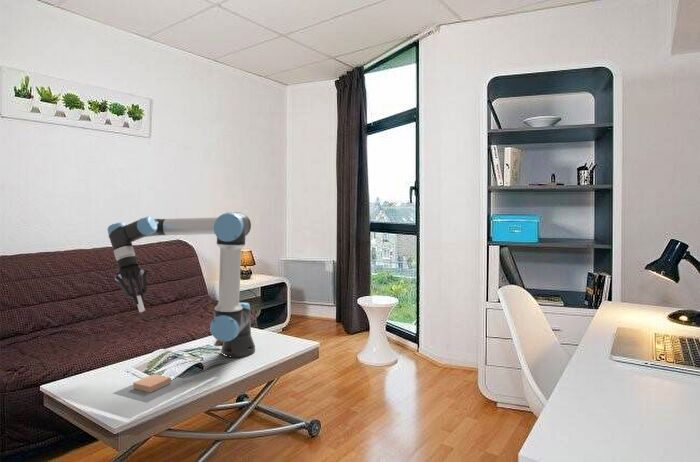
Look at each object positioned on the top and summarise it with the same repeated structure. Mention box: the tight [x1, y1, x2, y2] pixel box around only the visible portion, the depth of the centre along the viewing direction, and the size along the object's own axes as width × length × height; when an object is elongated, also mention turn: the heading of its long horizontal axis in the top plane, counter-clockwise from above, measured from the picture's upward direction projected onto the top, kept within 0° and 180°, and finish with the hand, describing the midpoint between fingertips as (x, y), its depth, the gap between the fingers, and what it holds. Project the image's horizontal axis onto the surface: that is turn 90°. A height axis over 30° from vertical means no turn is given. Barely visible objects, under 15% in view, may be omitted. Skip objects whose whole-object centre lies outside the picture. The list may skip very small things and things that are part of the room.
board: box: [113, 376, 193, 403], centre depth 158 cm, size 18×20×1 cm
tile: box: [132, 373, 171, 393], centre depth 158 cm, size 2×9×9 cm
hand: (142, 311), depth 177 cm, fingers closed
